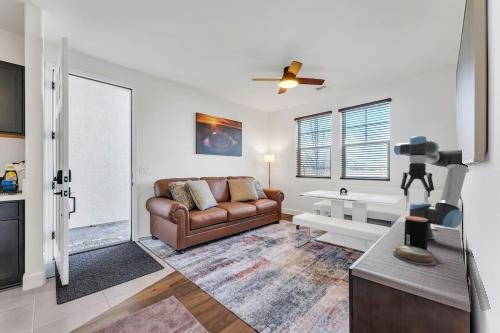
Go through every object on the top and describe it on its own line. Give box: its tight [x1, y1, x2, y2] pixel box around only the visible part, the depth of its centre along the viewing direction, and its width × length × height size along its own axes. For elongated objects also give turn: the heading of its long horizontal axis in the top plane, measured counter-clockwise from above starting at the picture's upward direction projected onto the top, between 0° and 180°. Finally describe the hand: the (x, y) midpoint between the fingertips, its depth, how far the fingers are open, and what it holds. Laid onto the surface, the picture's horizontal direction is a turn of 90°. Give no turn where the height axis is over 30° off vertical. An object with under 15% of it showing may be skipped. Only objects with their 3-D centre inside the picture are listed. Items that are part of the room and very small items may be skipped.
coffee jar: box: [403, 215, 428, 250], centre depth 127 cm, size 11×11×18 cm
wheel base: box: [392, 250, 437, 267], centre depth 114 cm, size 18×18×1 cm
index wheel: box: [395, 235, 435, 263], centre depth 114 cm, size 16×16×9 cm
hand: (416, 202), depth 127 cm, fingers open, 8 cm apart
